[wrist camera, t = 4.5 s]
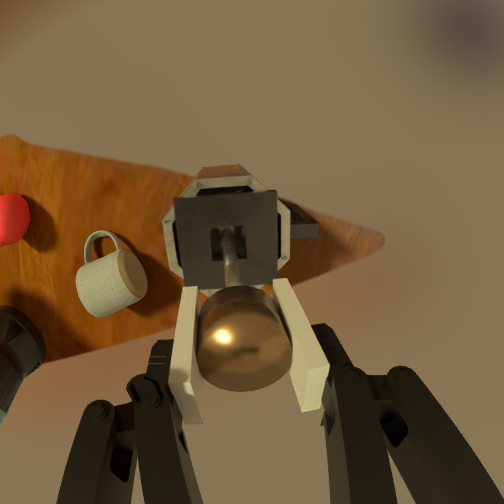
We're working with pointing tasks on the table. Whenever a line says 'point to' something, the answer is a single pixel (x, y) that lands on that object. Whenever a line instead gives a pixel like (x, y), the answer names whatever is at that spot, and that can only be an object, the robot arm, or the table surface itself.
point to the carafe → (226, 215)
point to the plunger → (240, 326)
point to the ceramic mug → (110, 279)
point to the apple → (13, 218)
